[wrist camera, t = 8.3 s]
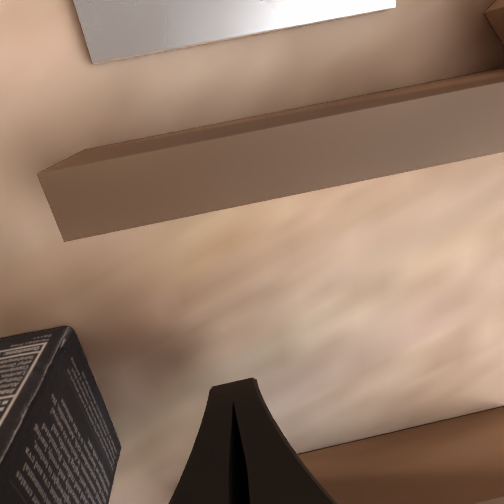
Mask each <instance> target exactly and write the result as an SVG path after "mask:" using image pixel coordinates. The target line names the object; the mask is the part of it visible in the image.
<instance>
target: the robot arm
mask: <svg viewBox="0 0 504 504" xmlns="http://www.w3.org/2000/svg"><path fill="white" fill-rule="evenodd" d="M169 504H337V503H336V502H335V500H334V499H333V498H332V497H331V496H330V495H329V494H328V492H327V491H326V490H325V489H324V488H323V487H322V486H321V484H320V483H319V482H318V481H317V480H316V478H315V477H314V476H313V475H312V473H311V472H310V471H309V470H308V468H307V467H306V466H305V465H304V463H303V462H302V461H301V459H300V458H299V457H298V455H297V454H296V452H295V451H294V450H293V448H292V447H291V445H290V444H289V442H288V441H287V439H286V438H285V436H284V435H283V433H282V432H281V430H280V428H279V427H278V425H277V423H276V422H275V420H274V419H273V417H272V415H271V413H270V411H269V409H268V407H267V405H266V404H265V402H264V399H263V397H262V395H261V392H260V390H259V387H258V383H257V380H256V379H254V378H248V379H244V380H240V381H235V382H231V383H226V384H222V385H218V386H213V387H212V388H211V389H210V391H209V397H208V401H207V405H206V409H205V412H204V416H203V419H202V422H201V426H200V429H199V432H198V434H197V437H196V440H195V443H194V446H193V449H192V451H191V454H190V457H189V459H188V461H187V464H186V466H185V469H184V471H183V473H182V476H181V478H180V481H179V483H178V485H177V487H176V489H175V492H174V494H173V496H172V498H171V500H170V502H169Z"/></svg>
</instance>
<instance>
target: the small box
mask: <svg viewBox="0 0 504 504" xmlns="http://www.w3.org/2000/svg"><path fill="white" fill-rule="evenodd" d="M120 450H121V445H120V442H119V439H118V437H117V434H116V432H115V429H114V427H113V424H112V421H111V419H110V417H109V414H108V411H107V409H106V406H105V404H104V402H103V399H102V396H101V394H100V391H99V389H98V387H97V385H96V382H95V380H94V377H93V375H92V372H91V370H90V368H89V365H88V363H87V360H86V357H85V355H84V353H83V350H82V348H81V345H80V343H79V341H78V338H77V335H76V334H75V332H74V330H73V329H72V328H70V327H69V326H63V327H58V328H54V329H49V330H43V331H38V332H32V333H26V334H22V335H17V336H12V337H7V338H3V339H0V504H108V503H109V498H110V494H111V489H112V485H113V480H114V475H115V471H116V466H117V462H118V459H119V456H120Z"/></svg>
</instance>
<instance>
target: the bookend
mask: <svg viewBox="0 0 504 504" xmlns="http://www.w3.org/2000/svg"><path fill="white" fill-rule="evenodd" d="M73 1H74V5H75V8H76V11H77V14H78V18H79V21H80V24H81V27H82V31H83V34H84V37H85V40H86V44H87V47H88V50H89V53H90V57H91V60H92V63H94V64H102V63H107V62H113V61H118V60H123V59H129V58H134V57H139V56H145V55H150V54H155V53H161V52H166V51H172V50H177V49H182V48H188V47H193V46H198V45H204V44H209V43H214V42H220V41H225V40H230V39H236V38H241V37H247V36H252V35H257V34H263V33H268V32H273V31H279V30H284V29H289V28H295V27H300V26H305V25H311V24H316V23H322V22H327V21H332V20H338V19H343V18H348V17H354V16H359V15H364V14H370V13H375V12H381V11H386V10H389V9H391V8H394V7H395V0H73Z"/></svg>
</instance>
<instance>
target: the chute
mask: <svg viewBox="0 0 504 504" xmlns="http://www.w3.org/2000/svg"><path fill="white" fill-rule="evenodd" d="M484 13H485V15H486V17H487V19H488V20H489V22H490V24H491V25H492V27H493V29H494V31H495V32H496V34H497V36H498V37H499V39H500V41H501V42H502V44H503V46H504V0H496V1H495V2H494V3H493V4H492V5H491V6H490V7H489V8H488V9H487V10H486V11H485V12H484ZM500 152H504V68H500V69H495V70H489V71H484V72H479V73H474V74H469V75H464V76H459V77H454V78H449V79H443V80H438V81H433V82H428V83H423V84H418V85H413V86H408V87H403V88H397V89H392V90H387V91H382V92H377V93H372V94H367V95H362V96H356V97H351V98H346V99H341V100H336V101H331V102H326V103H321V104H316V105H310V106H305V107H300V108H295V109H290V110H285V111H280V112H275V113H270V114H264V115H259V116H254V117H249V118H244V119H239V120H234V121H229V122H224V123H218V124H213V125H208V126H203V127H198V128H193V129H188V130H183V131H177V132H172V133H167V134H162V135H157V136H152V137H147V138H142V139H137V140H131V141H126V142H121V143H116V144H111V145H106V146H101V147H96V148H91V149H85V150H83V151H81V152H79V153H77V154H75V155H73V156H71V157H69V158H67V159H65V160H63V161H61V162H59V163H57V164H55V165H53V166H51V167H49V168H47V169H46V170H44V171H42V172H40V173H38V174H37V176H38V178H39V181H40V183H41V186H42V188H43V190H44V193H45V195H46V198H47V200H48V203H49V205H50V208H51V210H52V213H53V215H54V218H55V220H56V223H57V225H58V228H59V230H60V233H61V235H62V238H63V240H64V242H66V241H71V240H76V239H81V238H86V237H90V236H95V235H100V234H105V233H110V232H115V231H120V230H125V229H129V228H134V227H139V226H144V225H149V224H154V223H159V222H164V221H168V220H173V219H178V218H183V217H188V216H193V215H198V214H203V213H208V212H212V211H217V210H222V209H227V208H232V207H237V206H242V205H247V204H251V203H256V202H261V201H266V200H271V199H276V198H281V197H286V196H291V195H295V194H300V193H305V192H310V191H315V190H320V189H325V188H330V187H334V186H339V185H344V184H349V183H354V182H359V181H364V180H369V179H373V178H378V177H383V176H388V175H393V174H398V173H403V172H408V171H413V170H417V169H422V168H427V167H432V166H437V165H442V164H447V163H452V162H456V161H461V160H466V159H471V158H476V157H481V156H486V155H491V154H495V153H500ZM298 457H299V458H300V459H301V461H302V462H303V463H304V465H305V466H306V467H307V468H308V470H309V471H310V472H311V473H312V475H313V476H314V477H315V478H316V480H317V481H318V482H319V483H320V484H321V486H322V487H323V488H324V489H325V490H326V491H327V492H328V494H329V495H330V496H331V497H332V498H333V499H334V500H335V502H336V503H337V504H504V407H500V408H496V409H492V410H488V411H483V412H479V413H475V414H470V415H466V416H462V417H458V418H453V419H449V420H445V421H440V422H436V423H432V424H428V425H423V426H419V427H415V428H410V429H406V430H402V431H398V432H393V433H389V434H385V435H380V436H376V437H372V438H368V439H363V440H359V441H355V442H350V443H346V444H342V445H338V446H333V447H329V448H325V449H320V450H316V451H312V452H308V453H303V454H299V455H298Z"/></svg>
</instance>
